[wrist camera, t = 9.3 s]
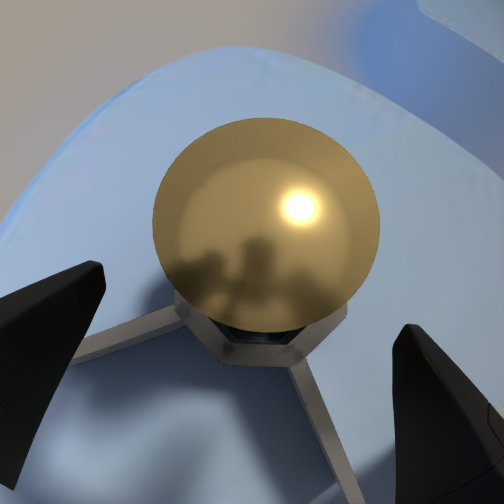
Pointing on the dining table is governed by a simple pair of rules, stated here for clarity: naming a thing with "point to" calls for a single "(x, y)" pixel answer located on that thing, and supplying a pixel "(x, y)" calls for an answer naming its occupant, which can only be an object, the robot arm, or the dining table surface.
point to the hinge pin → (266, 225)
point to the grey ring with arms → (247, 354)
